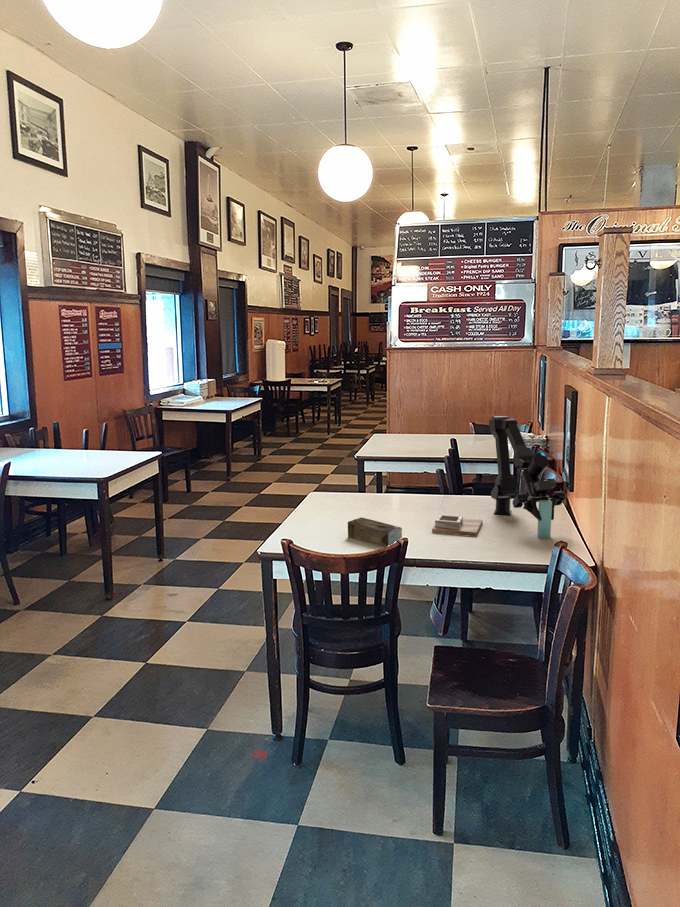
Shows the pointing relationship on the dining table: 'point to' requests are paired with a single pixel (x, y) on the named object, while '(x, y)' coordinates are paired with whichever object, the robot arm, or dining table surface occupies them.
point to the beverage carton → (373, 531)
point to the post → (545, 519)
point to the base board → (456, 525)
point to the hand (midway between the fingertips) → (546, 519)
